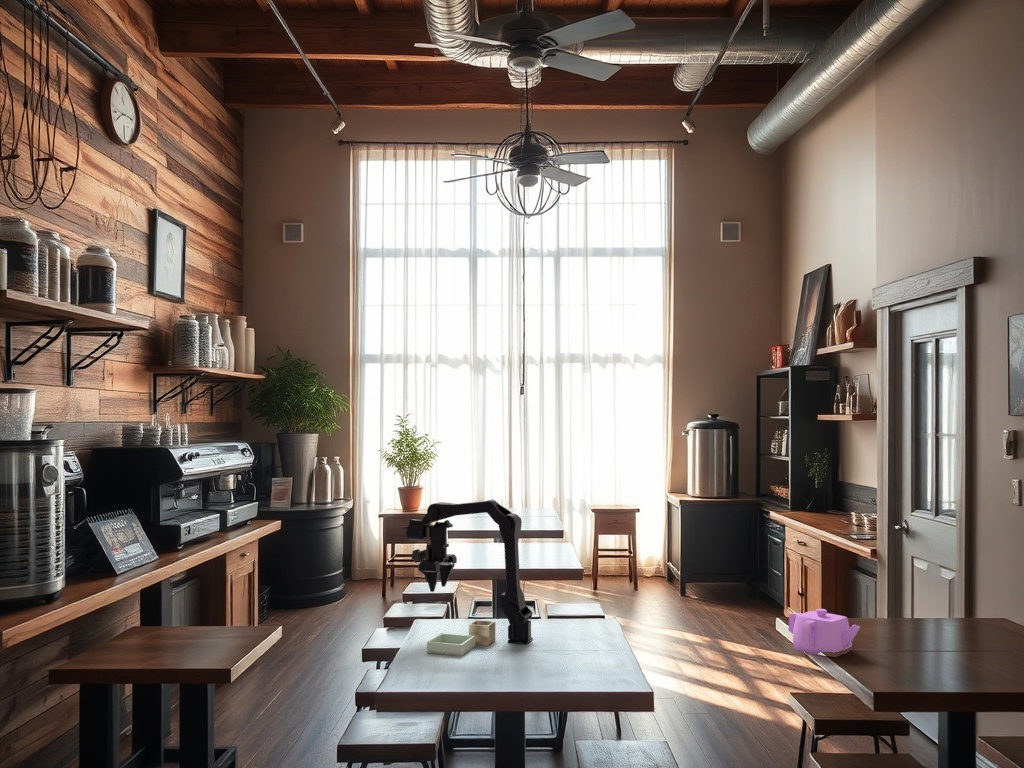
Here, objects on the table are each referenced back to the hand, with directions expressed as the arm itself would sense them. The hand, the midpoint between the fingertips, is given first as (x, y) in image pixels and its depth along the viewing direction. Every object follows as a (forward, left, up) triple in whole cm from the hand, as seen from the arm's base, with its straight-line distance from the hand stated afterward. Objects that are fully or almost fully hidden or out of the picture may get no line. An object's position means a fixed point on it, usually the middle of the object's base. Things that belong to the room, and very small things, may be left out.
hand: (437, 589), depth 268 cm
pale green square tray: (-11, +16, -15) cm, 25 cm away
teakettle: (-119, -17, -15) cm, 121 cm away
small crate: (-17, +5, -15) cm, 23 cm away
